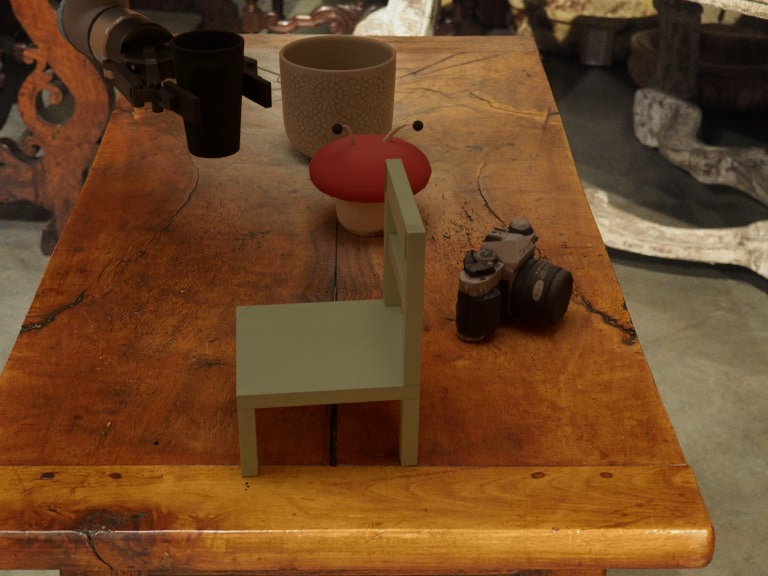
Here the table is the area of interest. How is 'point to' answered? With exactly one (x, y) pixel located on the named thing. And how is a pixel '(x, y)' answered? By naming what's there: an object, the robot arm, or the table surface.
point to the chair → (342, 339)
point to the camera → (509, 283)
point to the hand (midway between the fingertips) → (233, 103)
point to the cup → (211, 88)
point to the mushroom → (365, 175)
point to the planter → (336, 88)
